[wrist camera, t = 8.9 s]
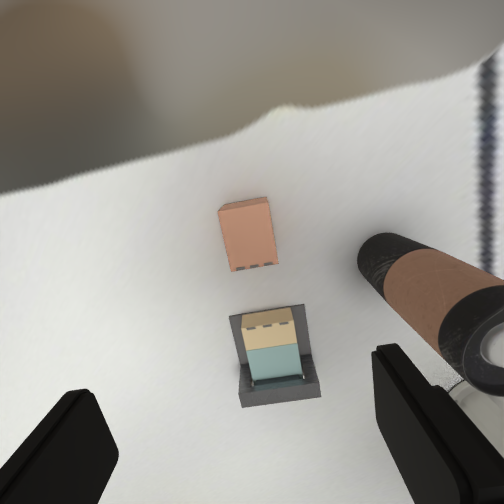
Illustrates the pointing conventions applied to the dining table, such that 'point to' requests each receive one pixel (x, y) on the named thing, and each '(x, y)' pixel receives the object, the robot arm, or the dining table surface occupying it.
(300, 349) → the mat
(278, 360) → the tan and teal block
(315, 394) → the grey rectangular collar
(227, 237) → the stub
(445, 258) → the travel mug
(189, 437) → the dining table surface
